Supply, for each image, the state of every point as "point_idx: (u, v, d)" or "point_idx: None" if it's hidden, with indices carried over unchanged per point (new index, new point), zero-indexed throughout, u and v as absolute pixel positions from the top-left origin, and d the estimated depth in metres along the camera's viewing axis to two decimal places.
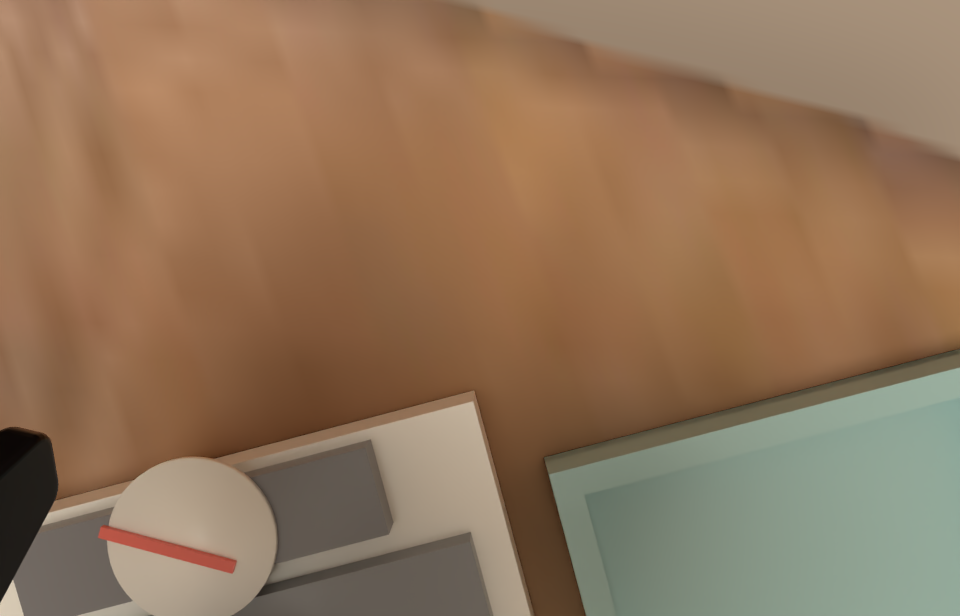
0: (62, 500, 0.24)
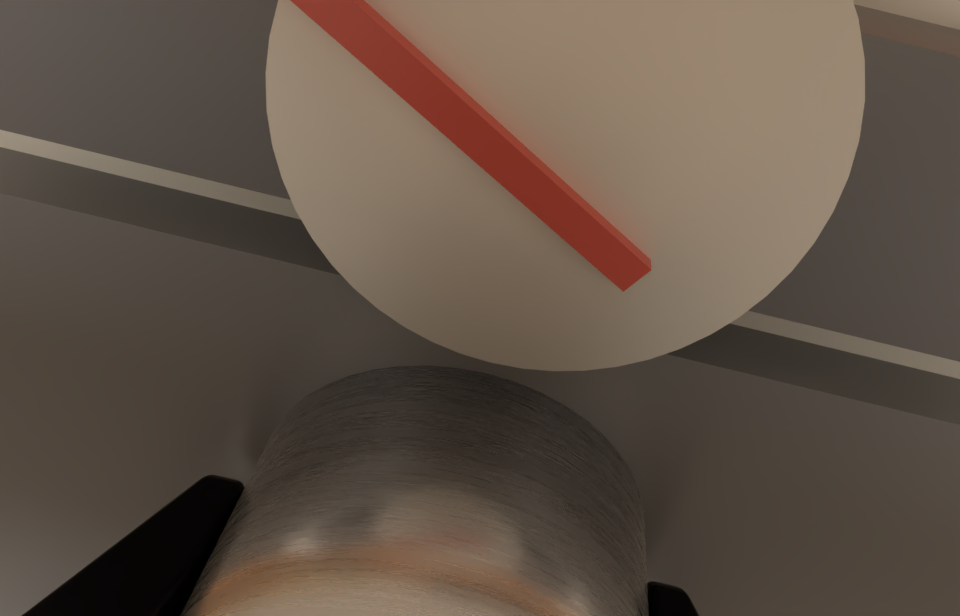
0: None
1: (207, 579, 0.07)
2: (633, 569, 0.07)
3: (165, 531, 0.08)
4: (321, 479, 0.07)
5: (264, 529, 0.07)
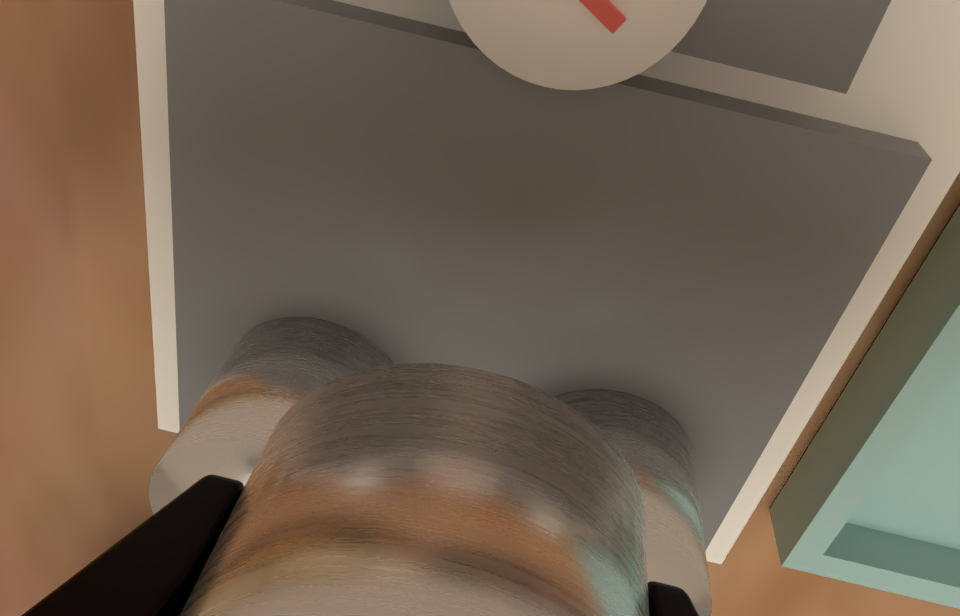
0: None
1: (208, 576, 0.07)
2: (634, 566, 0.07)
3: (165, 531, 0.08)
4: (321, 475, 0.07)
5: (265, 525, 0.07)
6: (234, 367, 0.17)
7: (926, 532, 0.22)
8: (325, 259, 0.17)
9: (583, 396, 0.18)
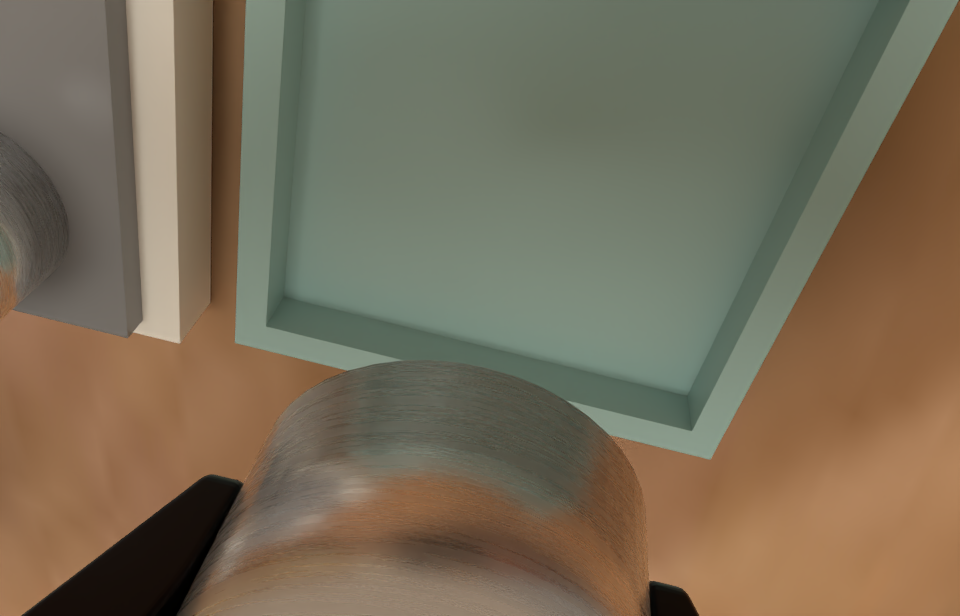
0: None
1: (205, 575, 0.07)
2: (635, 565, 0.07)
3: (165, 531, 0.08)
4: (321, 473, 0.07)
5: (263, 524, 0.07)
6: None
7: (397, 314, 0.21)
8: None
9: None
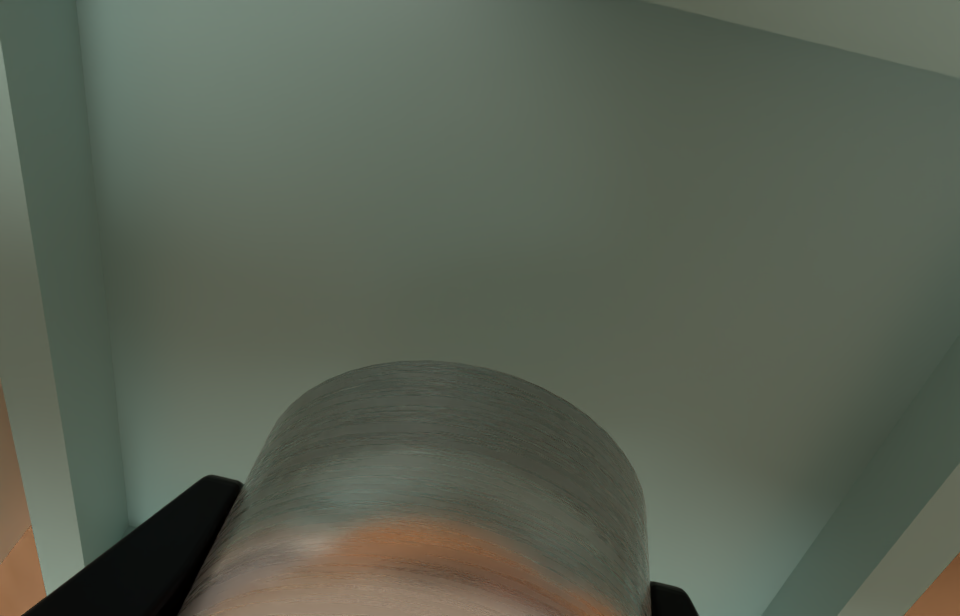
0: None
1: (206, 575, 0.07)
2: (636, 565, 0.07)
3: (165, 531, 0.08)
4: (321, 473, 0.07)
5: (265, 524, 0.07)
6: None
7: None
8: None
9: None
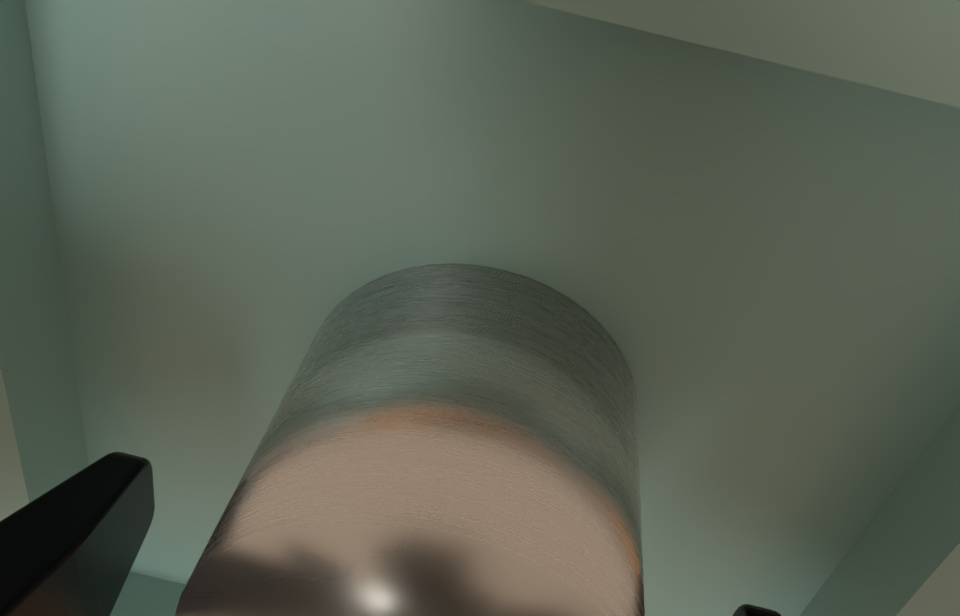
0: None
1: (276, 423, 0.08)
2: (626, 426, 0.09)
3: (59, 505, 0.08)
4: (368, 343, 0.08)
5: (325, 381, 0.08)
6: None
7: None
8: None
9: None
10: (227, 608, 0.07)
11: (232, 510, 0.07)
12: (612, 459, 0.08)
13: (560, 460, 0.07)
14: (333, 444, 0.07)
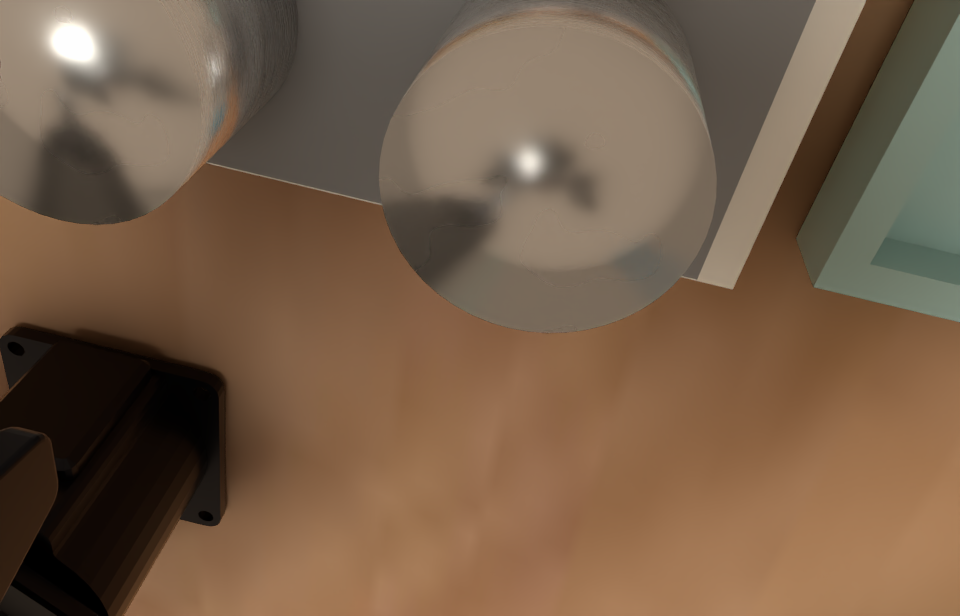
0: None
1: None
2: None
3: None
4: None
5: None
6: None
7: None
8: None
9: None
10: None
11: None
12: None
13: None
14: None
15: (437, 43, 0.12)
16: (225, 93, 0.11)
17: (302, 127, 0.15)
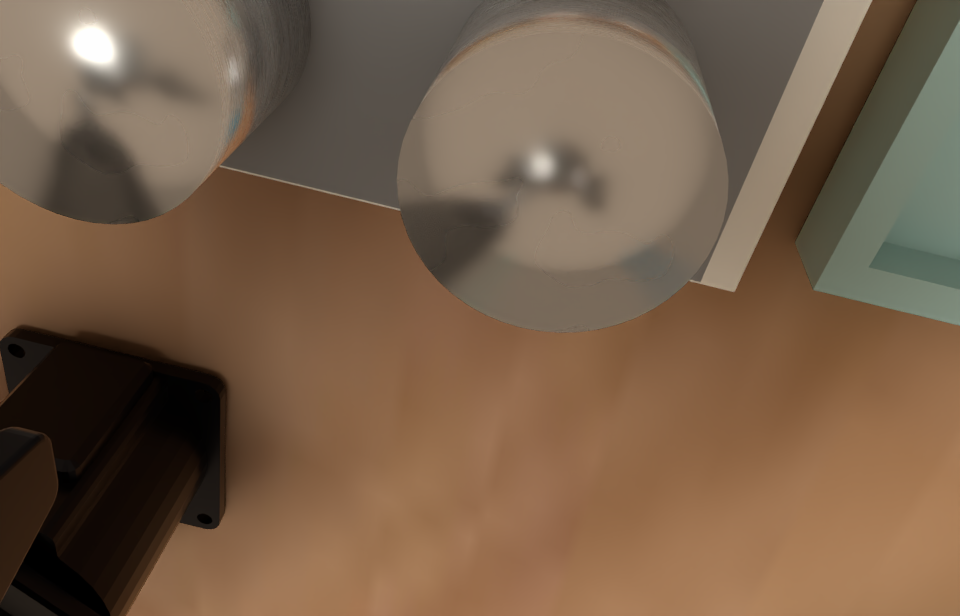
0: None
1: None
2: None
3: None
4: None
5: None
6: None
7: None
8: None
9: None
10: None
11: None
12: None
13: None
14: None
15: (451, 48, 0.12)
16: (243, 95, 0.12)
17: (313, 130, 0.15)
